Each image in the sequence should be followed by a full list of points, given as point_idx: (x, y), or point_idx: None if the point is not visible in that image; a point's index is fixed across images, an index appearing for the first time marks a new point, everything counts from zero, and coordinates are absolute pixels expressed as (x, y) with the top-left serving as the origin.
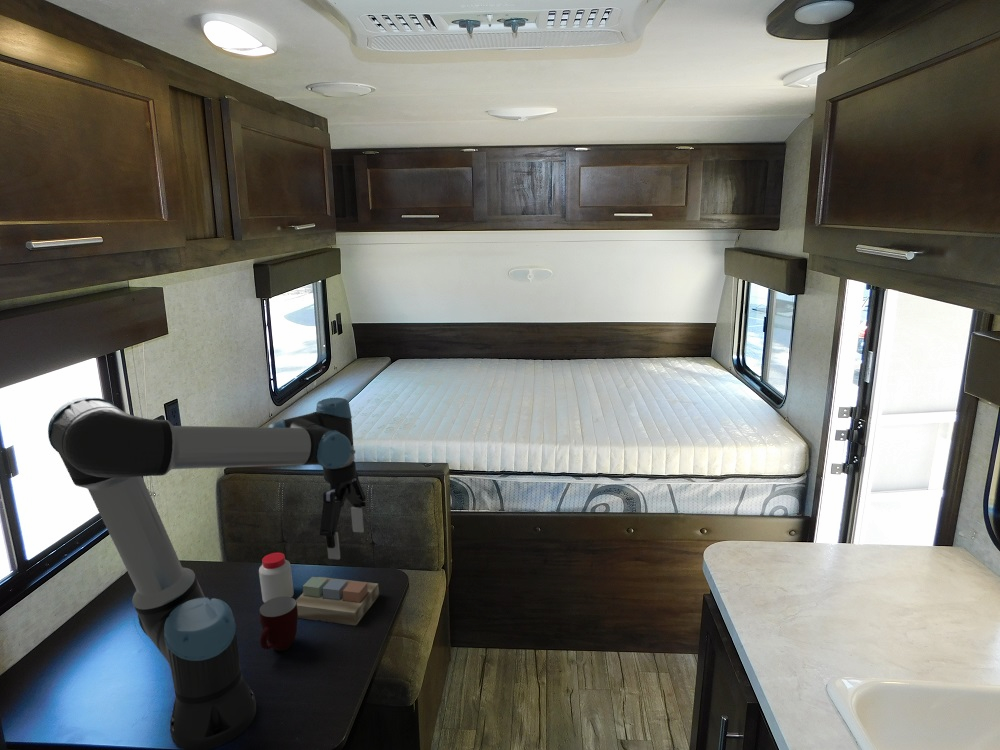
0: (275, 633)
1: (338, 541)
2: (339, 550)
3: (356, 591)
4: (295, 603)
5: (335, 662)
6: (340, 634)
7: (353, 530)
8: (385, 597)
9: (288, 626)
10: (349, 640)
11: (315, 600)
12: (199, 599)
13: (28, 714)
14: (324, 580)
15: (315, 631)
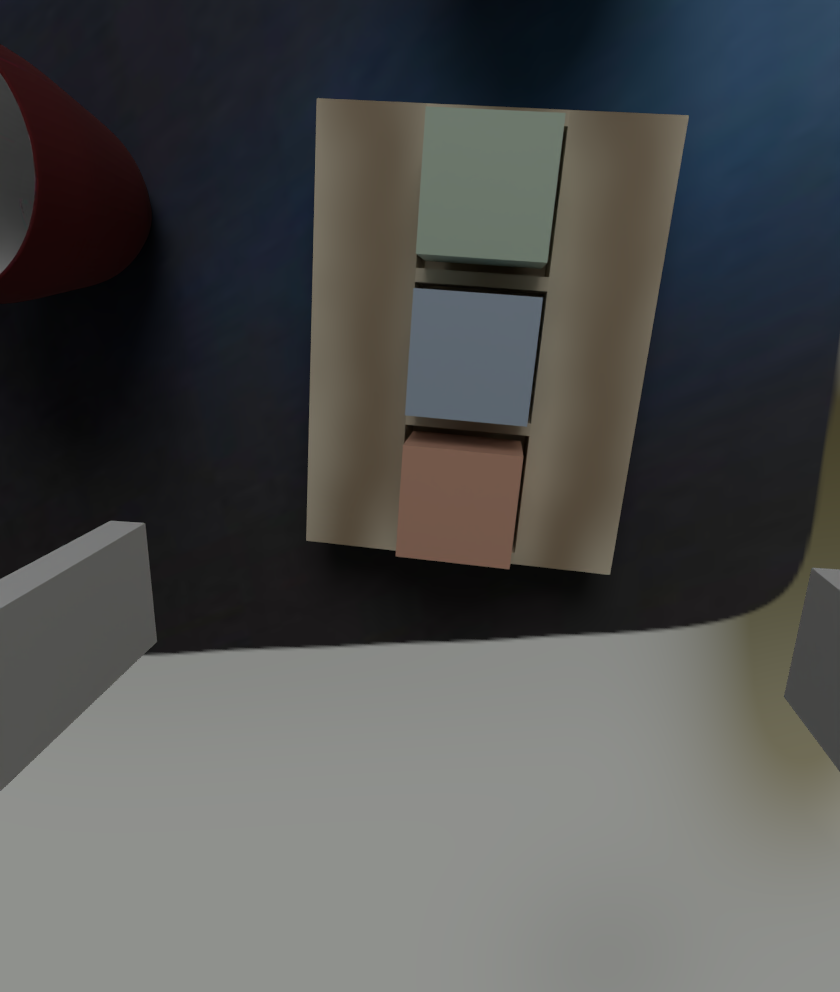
0: None
1: (3, 779)
2: (95, 694)
3: (408, 535)
4: (29, 260)
5: (77, 521)
6: (250, 468)
7: (818, 586)
8: (580, 583)
9: None
10: (220, 526)
11: (387, 249)
12: None
13: None
14: (518, 251)
15: (246, 331)
